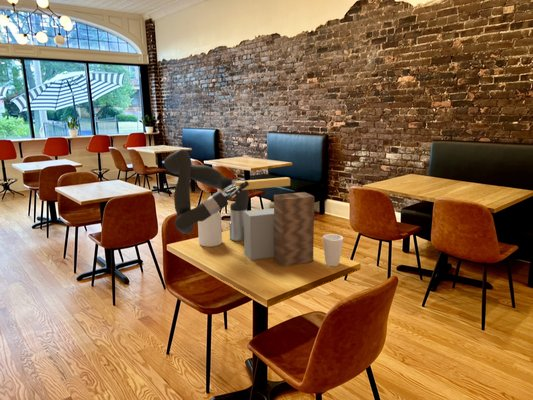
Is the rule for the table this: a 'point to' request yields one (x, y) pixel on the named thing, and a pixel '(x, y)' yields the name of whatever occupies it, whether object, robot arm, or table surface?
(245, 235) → the block
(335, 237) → the foam cup
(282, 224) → the stand
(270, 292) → the table surface
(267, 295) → the table surface
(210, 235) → the white jar
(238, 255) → the table surface
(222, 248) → the table surface
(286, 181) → the rail
